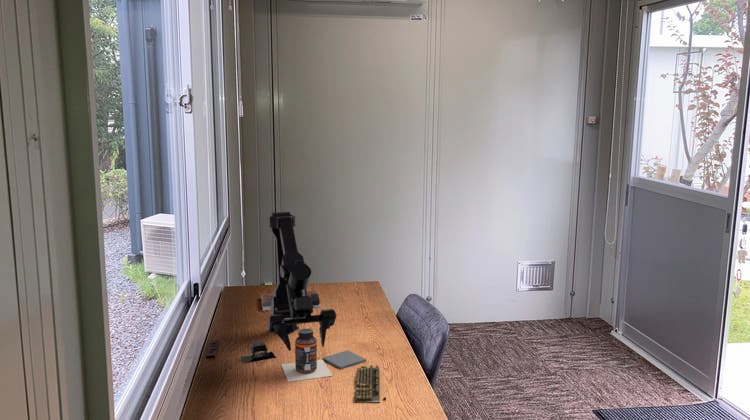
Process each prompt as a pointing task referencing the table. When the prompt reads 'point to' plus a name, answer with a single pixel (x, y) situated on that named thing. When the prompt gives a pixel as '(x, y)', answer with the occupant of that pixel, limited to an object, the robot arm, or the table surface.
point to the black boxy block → (258, 356)
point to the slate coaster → (344, 359)
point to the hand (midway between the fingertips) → (306, 348)
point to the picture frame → (268, 297)
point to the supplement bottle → (306, 351)
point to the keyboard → (367, 385)
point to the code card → (297, 376)
